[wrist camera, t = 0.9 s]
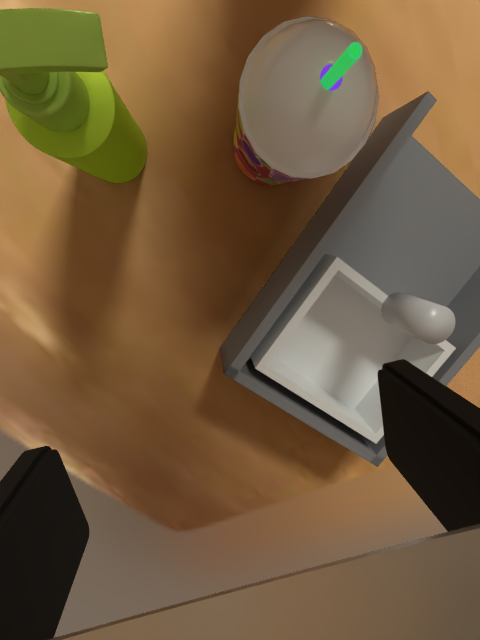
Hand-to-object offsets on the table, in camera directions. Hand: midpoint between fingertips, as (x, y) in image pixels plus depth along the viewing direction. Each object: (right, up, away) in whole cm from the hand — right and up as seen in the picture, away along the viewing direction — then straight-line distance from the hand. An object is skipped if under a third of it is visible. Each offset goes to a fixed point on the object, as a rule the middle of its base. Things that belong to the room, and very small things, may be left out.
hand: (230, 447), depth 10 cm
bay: (+14, +7, +28) cm, 32 cm away
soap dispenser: (-11, +19, +23) cm, 32 cm away
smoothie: (+3, +20, +24) cm, 31 cm away
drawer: (+11, +2, +28) cm, 30 cm away
